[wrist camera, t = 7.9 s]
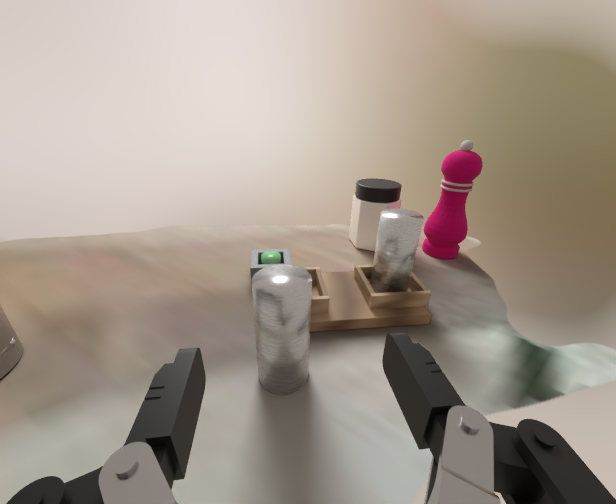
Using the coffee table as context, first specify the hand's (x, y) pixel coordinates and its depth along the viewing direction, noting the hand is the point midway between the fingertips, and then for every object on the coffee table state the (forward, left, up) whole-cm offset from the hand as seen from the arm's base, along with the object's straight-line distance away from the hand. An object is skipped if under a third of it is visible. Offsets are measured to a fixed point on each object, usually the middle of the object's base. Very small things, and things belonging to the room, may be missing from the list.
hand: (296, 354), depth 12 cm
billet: (0, +11, -14) cm, 18 cm away
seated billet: (+15, +22, -13) cm, 30 cm away
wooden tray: (+8, +22, -14) cm, 28 cm away
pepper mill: (+31, +36, -14) cm, 50 cm away
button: (-1, +31, -14) cm, 34 cm away
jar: (+19, +41, -14) cm, 48 cm away
